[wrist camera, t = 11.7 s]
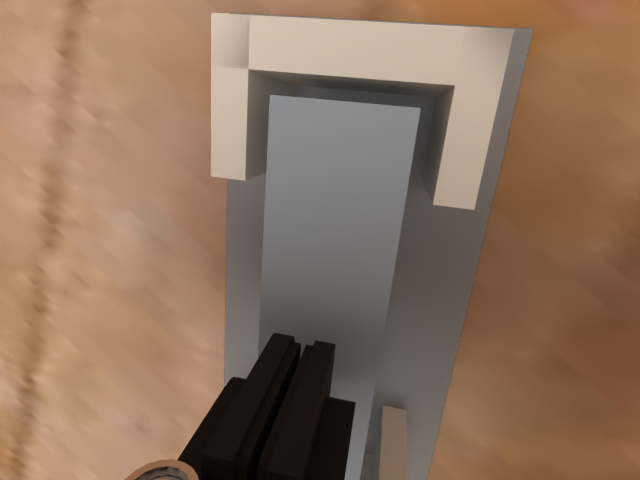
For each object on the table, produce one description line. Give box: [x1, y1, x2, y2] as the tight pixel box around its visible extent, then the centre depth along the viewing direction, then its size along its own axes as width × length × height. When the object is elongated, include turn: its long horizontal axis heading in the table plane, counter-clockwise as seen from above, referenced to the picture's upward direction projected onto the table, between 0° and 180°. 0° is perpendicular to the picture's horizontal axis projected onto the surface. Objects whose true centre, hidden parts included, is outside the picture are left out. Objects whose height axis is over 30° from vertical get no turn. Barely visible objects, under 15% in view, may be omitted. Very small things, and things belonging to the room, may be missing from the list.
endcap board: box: [211, 13, 533, 480], centre depth 14 cm, size 10×20×5 cm, turn 175°
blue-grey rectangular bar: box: [258, 95, 421, 480], centre depth 13 cm, size 14×4×5 cm, turn 175°
